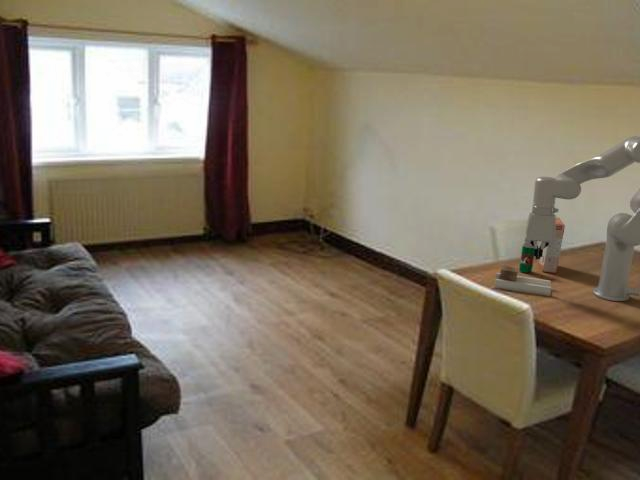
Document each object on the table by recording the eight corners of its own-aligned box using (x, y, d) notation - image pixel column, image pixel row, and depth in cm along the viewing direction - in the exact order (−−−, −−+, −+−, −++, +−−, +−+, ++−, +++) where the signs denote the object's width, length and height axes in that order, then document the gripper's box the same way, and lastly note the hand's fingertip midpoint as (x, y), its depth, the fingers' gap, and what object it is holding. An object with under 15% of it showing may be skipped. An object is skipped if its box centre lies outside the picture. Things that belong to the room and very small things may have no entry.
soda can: (534, 273, 255) (538, 245, 251) (524, 274, 253) (528, 246, 249) (526, 269, 259) (530, 241, 256) (516, 270, 257) (520, 242, 254)
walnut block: (515, 282, 239) (517, 267, 237) (515, 287, 234) (517, 272, 232) (499, 280, 241) (501, 265, 239) (498, 284, 236) (501, 269, 234)
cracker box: (557, 273, 255) (565, 225, 250) (542, 272, 256) (550, 223, 251) (552, 263, 269) (560, 217, 263) (537, 262, 270) (545, 215, 264)
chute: (549, 288, 237) (550, 280, 236) (549, 296, 229) (551, 288, 228) (495, 280, 243) (496, 272, 242) (494, 287, 235) (495, 279, 234)
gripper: (564, 210, 228) (558, 257, 233) (521, 207, 232) (517, 253, 237) (565, 214, 221) (559, 263, 226) (521, 211, 225) (516, 259, 230)
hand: (537, 258), depth 232 cm, fingers closed
